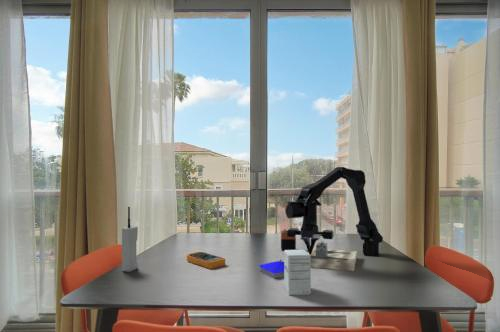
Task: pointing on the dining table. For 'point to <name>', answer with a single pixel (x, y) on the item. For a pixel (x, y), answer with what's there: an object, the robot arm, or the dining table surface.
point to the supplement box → (297, 272)
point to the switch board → (335, 260)
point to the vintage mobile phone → (129, 246)
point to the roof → (273, 269)
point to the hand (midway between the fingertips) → (310, 254)
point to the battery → (287, 241)
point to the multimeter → (205, 260)
